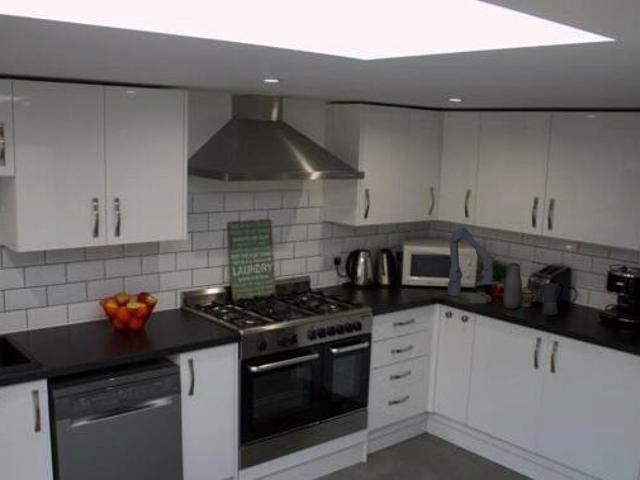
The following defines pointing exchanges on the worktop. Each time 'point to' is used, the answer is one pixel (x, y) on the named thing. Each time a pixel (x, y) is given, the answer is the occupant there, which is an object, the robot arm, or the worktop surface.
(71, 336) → the worktop surface
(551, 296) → the moka pot
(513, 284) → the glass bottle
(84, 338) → the worktop surface
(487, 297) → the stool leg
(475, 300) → the seat panel
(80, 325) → the worktop surface
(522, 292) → the teacup with lid
